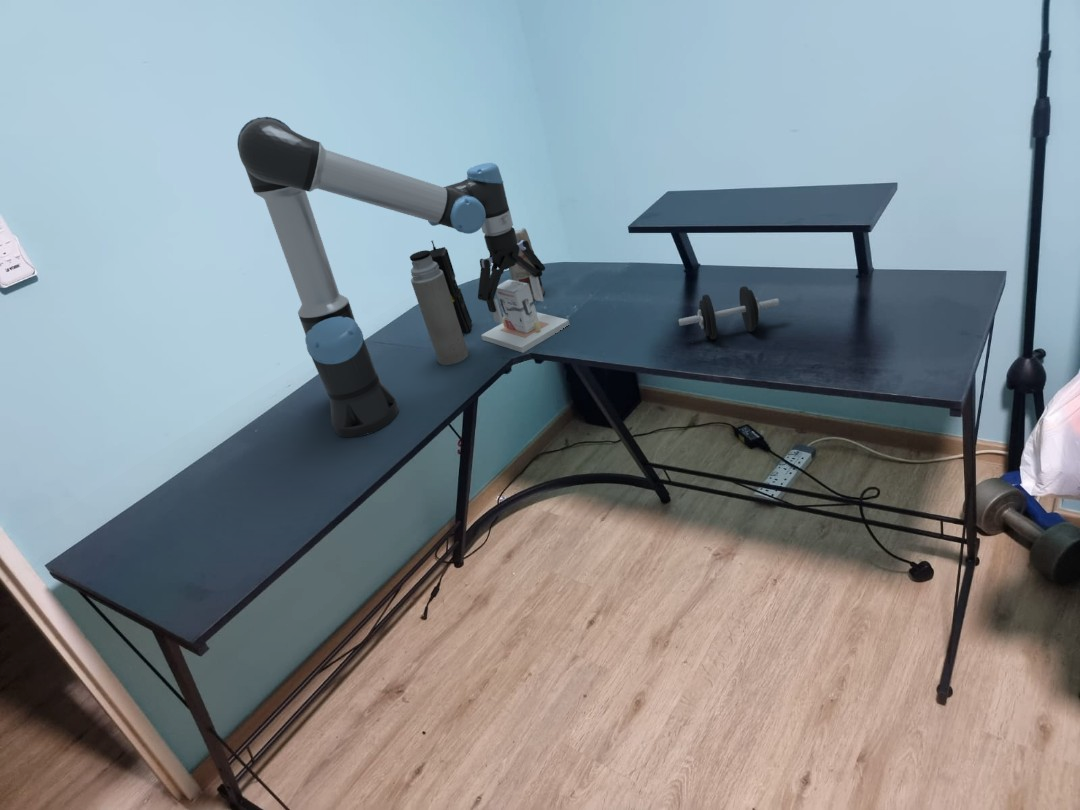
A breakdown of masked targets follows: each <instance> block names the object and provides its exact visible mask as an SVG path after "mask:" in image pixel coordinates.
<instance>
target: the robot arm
mask: <svg viewBox="0 0 1080 810" xmlns="http://www.w3.org/2000/svg"><path fill="white" fill-rule="evenodd" d="M237 150H238V154H239V158H240V160H241V164H242V165H243V166H244V169H245V171H246V173H247V176H248V179H249V183H250V185H251V188H252V190H253V193H254V194H255V195H257V196H258V197H260V198H262V199H263V200H264V201H265V202H264V203H265V204H266V207H267V208H266V209H267V210H268V213H269V216H270V219H271V221H272V222H271V223H272V224H273V227H274V231H275V232H276V236H277V238H278V241H279V243H280V246H281V249H282V253H283V255H284V258H285V260H286V264H287V266H288V269H289V272H290V274H291V277H292V281H293V284H294V286H295V289H296V291H297V294H298V297H299V300H300V302H301V306H300V307H299V310H298V311H297V314H298V315H297V316H298V317H299V320H300V323H301V325H302V328H303V329H302V330H303V332H304V334H305V337H304V339H305V345H306V350H307V352H308V354H309V356H310V357H311V359H312V361H313V365H314V366H315V368H316V371H317V373H318V376H319V377H320V379H321V382H322V384H323V387H324V390H325V391H326V393H327V396H328V398H329V403H330V418H331V425H332V427H333V429H334V432H335V434H337V436H340V437H344V438H355V437H356V436H357V437H361V436H360V435H362V436H365V435H364V434H366V435H368V434H367V433H369V434H372V433H374V432H376V431H379V430H380V429H382V428H384V427H385V426H387V425H389V424H390V423H392V421H394V419H396V417H397V415H398V413H399V412H400V407H399V405H398V402H397V400H396V397H395V396H394V395H393V394H392V393H391V392H390V390H389V389H388V388H387V386H385V384H383V382H382V381H381V379H380V377H379V374H378V371H377V369H376V368H375V364H374V361H373V359H372V356H371V355H370V354H371V353H370V352H369V348H368V347H367V343H366V341H365V339H364V334H363V331H362V328H360V326H359V325H358V323H357V322H356V319H355V316H354V313H353V310H352V307H351V304H350V301H349V298H348V297H346V296H344V295H342V294H340V292H339V288H338V286H337V283H336V280H335V277H334V274H333V271H332V267H331V264H330V261H329V258H328V255H327V253H326V252H327V251H326V248H325V246H324V242H323V240H322V237H321V234H320V230H319V227H318V224H317V222H316V218H315V216H314V212H313V209H312V207H311V204H310V199H309V197H308V194H307V192H309V193H310V192H313V191H315V190H321V191H325V192H329V193H332V194H336V195H339V196H342V197H344V198H348V199H352V200H355V201H358V202H359V201H360V202H363V203H367V204H369V205H373V206H376V207H380V208H384V209H387V210H391V211H394V212H397V213H401V214H404V215H408V216H411V217H415V218H418V219H422V220H425V221H427V222H428V223H429V225H431V226H433V227H435V226H440V225H441V226H445V227H448V228H451V229H455V230H456V231H457V232H459V233H463V234H465V235H466V234H474V233H476V232H478V231H480V229H481V230H482V233H483V234H484V237H483V238H484V241H485V245H486V249H487V251H488V252H489V257H487V258H480V259H479V264H480V265H479V266H480V272H479V273H480V274H479V283H478V289H477V291H478V292H477V299H478V300H479V301H482V302H483V301H484V302H486V304H487V308H488V311H489V312H490V313H492V316H493V317H492V318H493V320H494V322H495V323H497V324H499V325H500V324H502V323H504V322H503V318H502V317H503V316H502V315H503V314H502V310H501V306H500V303H499V299H498V297H497V298H496V297H495V295H496V294H497V293H496V290H497V287H498V285H500V284H499V283H500V281H501V277H502V275H503V274H504V271H506V270H509V267H511V266H514V265H515V264H518V265H519V266H520V267H522V268H523V269H525V270H526V271H527V272H529V273H530V274H532V275H533V276H530V277H529V278H530V282H531V286H532V290H533V294H534V298H535V299H534V301H537V302H543V301H544V296H543V295H544V294H543V295H542V291H541V287H543V282H542V278H541V277H542V276H543V272H544V271H545V269H546V267H545V265H544V264H543V263H542V261H541V260H540V258H538V256H537V255H536V254H535V251H534V250H533V251H534V252H533V251H532V250H531V249H530V246H529V243H528V241H525V240H519V242H518V244H517V237H516V233H515V230H516V229H515V228H514V227H513V225H514V222H513V219H512V215H511V210H510V207H509V204H508V199H507V195H506V190H505V187H504V180H503V178H502V175H501V172H500V168H499V166H498V165H497V164H496V163H493V162H485V163H481V164H477V165H474V166H473V167H470V168H468V169H467V170H466V171H467V172H466V175H467V176H466V179H464V180H463V181H460V182H456V183H453V184H450V185H446V186H440V185H436V184H433V183H430V182H428V181H424V180H421V179H418V178H415V177H412V176H408V175H407V174H403V173H400V172H397V171H394V170H389V169H386V168H384V167H381V166H377V165H375V164H371V163H368V162H366V161H362V160H359V159H355V158H352V157H350V156H347V155H344V154H340V153H337V152H334V151H331V150H329V149H328V150H327V149H326V148H324V145H322V143H321V142H320V141H317V140H315V139H311V138H308V137H306V136H304V135H301V134H300V133H297V132H296V131H294V130H293V129H291V128H290V126H289V125H288V124H286V123H285V122H283V121H282V120H280V119H277V118H276V117H270V116H263V117H256V118H253V119H251V120H248V121H247V122H246V123H245V124H244V126H243V127H241V129H240V131H239V134H238V137H237ZM519 250H521V251H522V252H523V253H524V255H525V256H526V257H527V259H528V260H529V261H530V262H531V264H532V265H533V266H534V267H535V268H534V267H533V266H531V265H530V264H529V263H527V262H526V261H525V260H524V259H523V258H521V257H520V256H519V255H518V254H519ZM371 432H372V433H371Z"/></svg>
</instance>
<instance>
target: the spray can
mask: <svg viewBox="0 0 1080 810" xmlns="http://www.w3.org/2000/svg"><path fill="white" fill-rule="evenodd" d="M515 233H516V237H517V244H518V242H519V240H525V241H528V243H529V246H530V249H531V250H532V251H533V252H534V253H535V251H534V249H533V246H532V242H531V239H530V236H529V233H528V231H527V229H526V228H525V227H523V228H521V229H515ZM518 255H519V256H520V257H521V258H523V259H524V260H525V261H526V262H527V263H529V264H530V265H531V266H533V265H532V264H531V262H530V261H529V260H528V259H527V257H526V256H525V255H524V253H523V252H522V251H521V250H519V254H518ZM533 267H534V266H533ZM534 268H535V267H534ZM508 271H509V274H510V277H511V280H515V281H519V282H524V283H527V284H528V285H529V287H530V291H531V295H532V298H533V300H535V298H534V294H533V290H532V286H531V282H530V278H529V277H530V276H533V275H532V274H530V273H529V272H527V271H526V270H525V269H523V268H522V267H520V266H519V265H518V264H515V265H514V266H511V267H509V268H508ZM541 291H542V295H544V294H545V290H544V287H543V286H542V287H541Z"/></svg>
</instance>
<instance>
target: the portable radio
mask: <svg viewBox="0 0 1080 810" xmlns="http://www.w3.org/2000/svg"><path fill="white" fill-rule="evenodd" d="M430 243H432V244H431V245H432V249H431V250H429V251H430V256H431V257H432V260H433V261H434V262H436V263H437V264H438V265H439V269H440V270H442V271H443V273H444V276H445V280H446V283H447V286H448V289H449V292H450V296H451V299H452V302H453V305H454V309H455V312H456V315H457V318H458V321H459V324H460V327H461V331H462V334H463V335H466V334H469V333H470V331H471V328H472V322H473V320H472V318H471V315H470V313H469V310H468V307H467V305H466V301H465V299H464V296H463V292H462V290H461V288H459V286H458V283H457V281H456V274H455V270H454V266H453V264H452V261H451V258H450V255H449V252H448V249H447V248H446V247H445V246H444V247H439V248H437V247H436V246H435V244H434V240H431V241H430Z"/></svg>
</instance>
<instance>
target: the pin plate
mask: <svg viewBox="0 0 1080 810" xmlns="http://www.w3.org/2000/svg"><path fill="white" fill-rule="evenodd" d="M536 313H537V316H538V320H539V322H538V321H537V322H534V325H535V329H533V330H532V331H530V332H528V333H524V332H521V331H517V330H514V329H510V328H507V325H506V322H505V319H504V316H502V318H503V322H504V323H502V324H500V323H499V324H498V325H496V326H495V327H493V328H492V329H489V330H488V331H486V332H484V333H482V334H481V339H482V341H485V342H488V343H492V344H493V345H496V346H497V345H498V346H501V347H504V348H506V349H509V350H513V351H515V352H520V353H522V354H524V353H526V352H527V351H528V350H530V349H532V348H534V347H535V346H537V345H538V344H540V343H542V342H543V341H546V340H547V339H549V338H550V337H552V336H554V335H556V334H557V333H560V332H561V331H562V330H564V329H566V328H567V327H566V326H568V325H569V326H570V320H569V319H567V318H562V317H559V316H554V315H550V314H546V313H543V312H542V313H541V312H538V311H536ZM539 324H540V325H539ZM569 326H568V327H569ZM565 327H566V328H565ZM563 328H564V329H563ZM560 330H561V331H560ZM555 333H556V334H555Z"/></svg>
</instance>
